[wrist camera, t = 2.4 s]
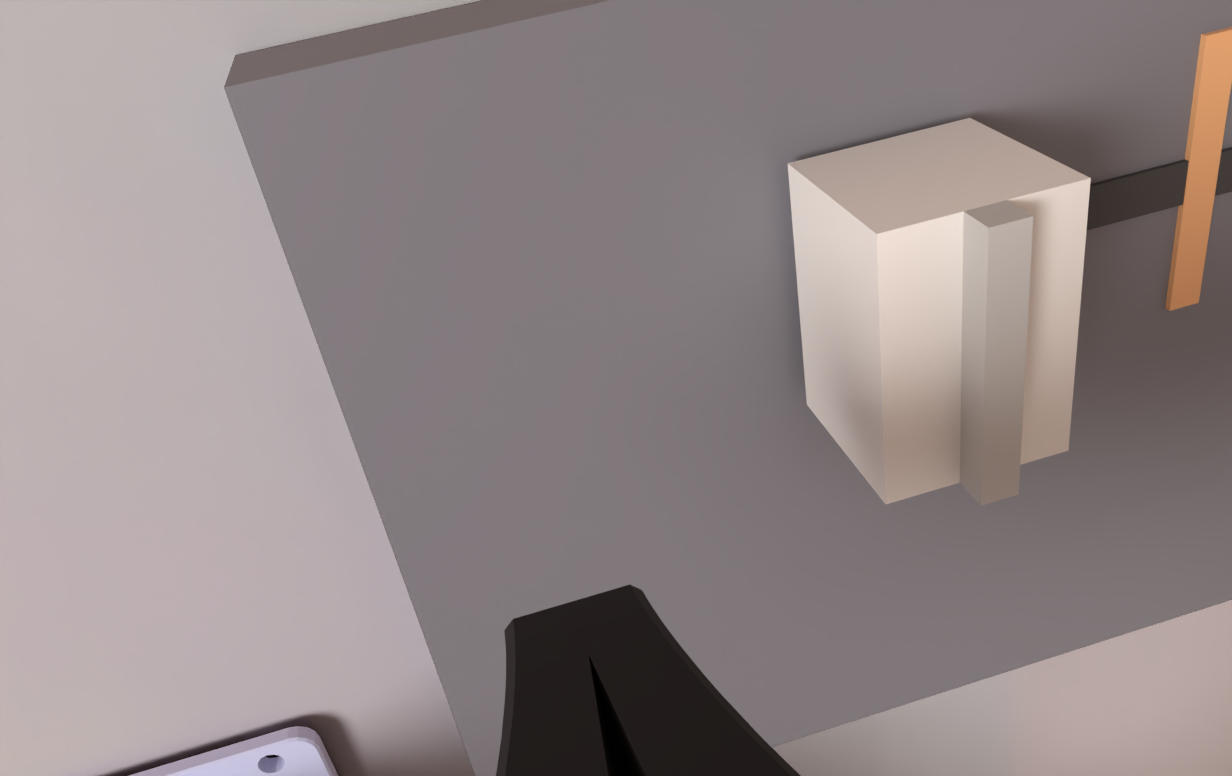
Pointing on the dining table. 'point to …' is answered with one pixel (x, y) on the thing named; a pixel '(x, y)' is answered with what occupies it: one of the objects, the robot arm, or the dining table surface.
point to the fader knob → (940, 305)
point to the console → (744, 328)
